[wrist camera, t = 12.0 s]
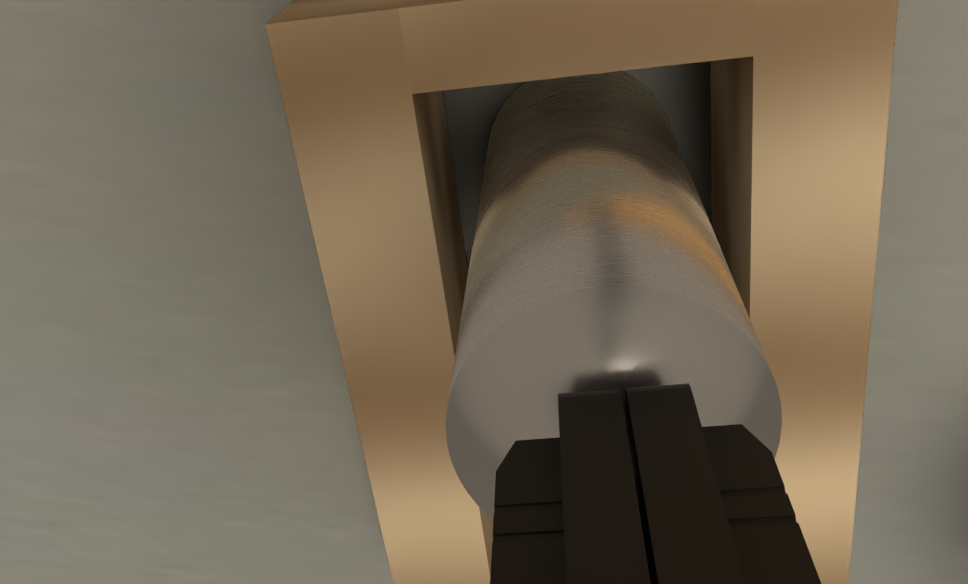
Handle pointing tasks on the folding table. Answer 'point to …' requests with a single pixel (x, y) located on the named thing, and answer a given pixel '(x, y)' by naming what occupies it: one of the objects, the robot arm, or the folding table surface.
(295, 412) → the folding table surface
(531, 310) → the grey rounded cylinder
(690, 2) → the frame
